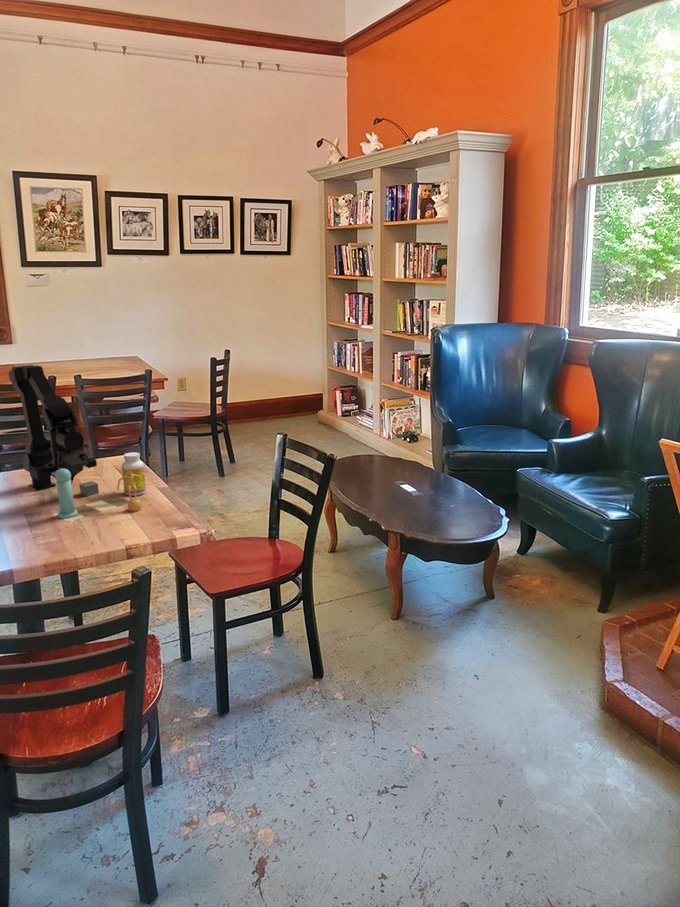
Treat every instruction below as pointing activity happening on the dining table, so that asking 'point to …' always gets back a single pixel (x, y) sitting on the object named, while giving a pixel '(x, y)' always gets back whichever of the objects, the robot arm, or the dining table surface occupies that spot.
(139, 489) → the supplement bottle
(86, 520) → the dining table surface
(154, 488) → the dining table surface
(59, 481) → the pawn
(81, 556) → the dining table surface
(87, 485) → the plain grey cube
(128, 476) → the figurine
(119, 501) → the board
